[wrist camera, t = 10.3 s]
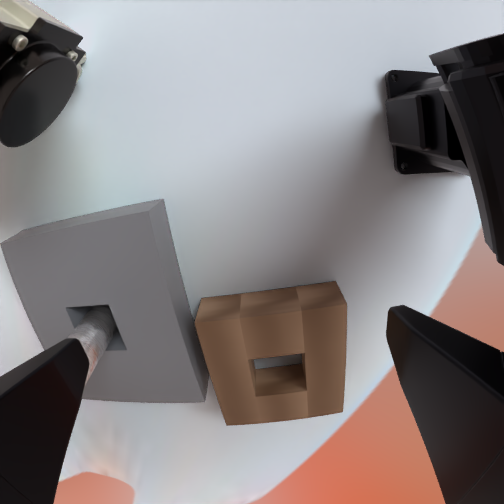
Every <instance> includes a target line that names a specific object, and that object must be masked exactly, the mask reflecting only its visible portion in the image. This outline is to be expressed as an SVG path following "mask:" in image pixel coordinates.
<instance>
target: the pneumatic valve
mask: <svg viewBox="0 0 504 504" xmlns="http://www.w3.org/2000/svg"><path fill="white" fill-rule="evenodd" d="M82 39H83V37H82V36H81V35H79V34H78V33H76V32H75V31H73V30H72V29H71V28H69V27H68V26H66V25H65V24H63V23H62V22H60V21H59V20H57V19H56V18H55V17H53V16H52V15H50V14H49V13H47V12H46V11H44V10H43V9H41V8H39V7H38V6H36V5H35V4H33V3H32V2H30V1H29V0H0V142H1V143H2V144H3V145H5V146H7V147H18V146H22V145H24V144H26V143H28V142H30V141H32V140H33V139H35V138H36V137H37V136H39V135H40V134H41V133H42V132H43V131H44V130H46V129H47V128H48V127H49V126H50V125H51V123H52V122H53V121H54V120H55V119H56V118H57V117H58V115H59V114H60V113H61V111H62V110H63V109H64V107H65V106H66V104H67V102H68V101H69V99H70V97H71V95H72V93H73V91H74V88H75V85H76V83H77V81H78V80H79V78H80V76H81V73H82V68H81V65H80V64H83V63H84V62H85V61H86V52H85V51H84V50H82V49H81V48H80V47H78V44H79V43H80V42H81V40H82Z"/></svg>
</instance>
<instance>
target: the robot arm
mask: <svg viewBox="0 0 504 504" xmlns="http://www.w3.org/2000/svg"><path fill="white" fill-rule="evenodd" d="M429 57H430V59H431V61H432V63H433V65H434V66H436V67H437V69H438V71H439V73H429V72H418V71H403V70H391V71H388V72H387V73H386V75H385V81H386V87H387V95H388V100H387V101H386V111H387V119H388V129H389V140H390V142H391V143H392V144H393V152H394V166H395V170H396V171H397V172H398V173H400V174H420V173H438V172H457V173H460V174H464V175H467V176H470V177H471V180H472V184H473V188H474V192H475V196H476V200H477V204H478V209H479V213H480V218H481V222H482V227H483V233H484V238H485V242H486V243H487V244H488V246H489V247H490V249H491V250H492V251H493V253H495V254H496V258H497V261H498V263H500V264H502V265H503V266H504V33H503V34H499V35H495V36H491V37H487V38H484V39H480V40H476V41H473V42H469V43H466V44H463V45H460V46H456V47H453V48H450V49H447V50H444V51H441V52H438V53H435V54H432V55H429ZM392 75H394V76H395V77H396V81H395V82H394V81H393V80H392V78H391V76H392ZM403 162H404V164H405V168H404V169H401V164H402V163H403ZM386 337H387V342H388V345H389V348H390V351H391V354H392V358H393V361H394V364H395V367H396V371H397V374H398V377H399V381H400V384H401V387H402V389H403V392H404V394H405V396H406V399H407V401H408V403H409V406H410V408H411V411H412V413H413V416H414V418H415V421H416V423H417V426H418V428H419V431H420V433H421V436H422V438H423V441H424V444H425V446H426V449H427V451H428V454H429V457H430V459H431V462H432V465H433V468H434V471H435V474H436V476H437V479H438V482H439V485H440V488H441V491H442V494H443V497H444V500H445V503H446V504H504V352H500V350H498V349H496V348H494V347H492V346H490V345H487V344H486V343H483V342H481V341H479V340H477V339H475V338H473V337H471V336H469V335H467V334H465V333H462V332H460V331H458V330H456V329H454V328H452V327H450V326H448V325H446V324H443V323H441V322H439V321H437V320H435V319H433V318H431V317H428V316H426V315H424V314H422V313H420V312H418V311H416V310H413V309H411V308H409V307H407V306H405V305H400V306H394V307H391V308H390V309H389V311H388V319H387V330H386ZM88 370H89V359H88V356H87V354H86V352H85V350H84V348H83V346H82V344H81V342H80V341H79V340H78V339H77V338H66V339H64V340H62V341H60V342H59V343H57V344H55V345H54V346H52V347H50V348H48V349H47V350H45V351H43V352H41V353H40V354H38V355H36V356H35V357H33V358H31V359H30V360H28V361H26V362H24V363H23V364H21V365H19V366H18V367H16V368H14V369H13V370H11V371H9V372H7V373H6V374H4V375H2V376H1V377H0V504H53V503H54V498H55V494H56V489H57V485H58V481H59V477H60V473H61V469H62V465H63V462H64V458H65V454H66V451H67V447H68V444H69V440H70V437H71V433H72V430H73V427H74V424H75V420H76V417H77V414H78V411H79V408H80V404H81V400H82V395H83V391H84V387H85V382H86V378H87V374H88Z"/></svg>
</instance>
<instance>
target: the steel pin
mask: <svg viewBox="0 0 504 504" xmlns="http://www.w3.org/2000/svg"><path fill="white" fill-rule="evenodd" d="M117 329H118V327H117V324H116V322H115V319H114V317H113V314H112V312H111V309H110V306H109V304H105V305H93V306H92V307H91V309H90V310H89V311H88V312H87V314H86V315H85V316H84V317H83V319H82V320H81V321H80V323H79V324H78V325H77V326H76V328H75V329H74V330H73V332H72V333H71V334H70V336H69V337H68V338H77V339H78V340H79V341H80V342H81V344H82V346H83V348H84V350H85V352H86V354H87V356H88V359H89V370H88V374H87V378H86V382H85V385H86V383H87V381H88V379H89V377H90V376H91V374H92V372H93V370H94V369H95V367H96V365H97V363H98V362H99V360H100V358H101V356H102V355H103V353H104V351H105V350H106V348H107V346H108V345H109V343H110V341H111V339H112V338H113V336H114V334H115V333H116V331H117Z"/></svg>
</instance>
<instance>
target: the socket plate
mask: <svg viewBox="0 0 504 504" xmlns="http://www.w3.org/2000/svg"><path fill="white" fill-rule="evenodd" d="M0 245H1V248H2V251H3V254H4V257H5V260H6V263H7V266H8V268H9V271H10V274H11V277H12V279H13V282H14V284H15V287H16V289H17V292H18V294H19V297H20V299H21V302H22V304H23V306H24V309H25V311H26V313H27V315H28V318H29V320H30V322H31V324H32V326H33V328H34V330H35V332H36V334H37V336H38V339H39V340H40V342H41V344H42V346H43V348H44V350H47V349H48V348H50V347H52V346H54V345H55V344H57V343H59V342H60V341H62V340H64V339H66V338H68V337H69V336H70V334H71V333H72V332H73V330H74V329H75V328H76V326H77V325H78V324H79V323H80V321H81V320H82V319H83V317H84V316H85V315H86V314H87V312H88V311H89V310H90V309H91V306H93V305H105V304H109V306H110V309H111V312H112V314H113V317H114V319H115V322H116V324H117V327H118V329H117V331H116V333H115V334H114V336H113V338H112V339H111V341H110V343H109V345H108V346H107V348H106V350H105V351H104V353H103V355H102V356H101V358H100V360H99V362H98V363H97V365H96V367H95V369H94V370H93V372H92V374H91V376H90V377H89V379H88V381H87V383H86V385H85V387H84V391H83V395H82V399H91V400H104V401H120V402H147V403H189V402H205V398H206V392H207V386H208V380H209V372H208V369H207V366H206V363H205V359H204V356H203V353H202V349H201V346H200V343H199V339H198V336H197V332H196V329H195V325H194V322H193V318H192V314H191V311H190V307H189V303H188V300H187V296H186V292H185V288H184V284H183V281H182V277H181V273H180V269H179V265H178V261H177V256H176V252H175V248H174V244H173V240H172V235H171V231H170V226H169V222H168V217H167V213H166V208H165V204H164V199H159V200H154V201H149V202H143V203H138V204H133V205H128V206H123V207H119V208H114V209H109V210H105V211H100V212H95V213H91V214H86V215H82V216H78V217H73V218H69V219H65V220H61V221H57V222H53V223H49V224H45V225H41V226H37V227H33V228H29V229H26V230H23V231H21V232H19V233H18V234H16V235H14V236H12V237H11V238H9V239H7V240H6V241H4V242H2V243H1V244H0Z"/></svg>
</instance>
